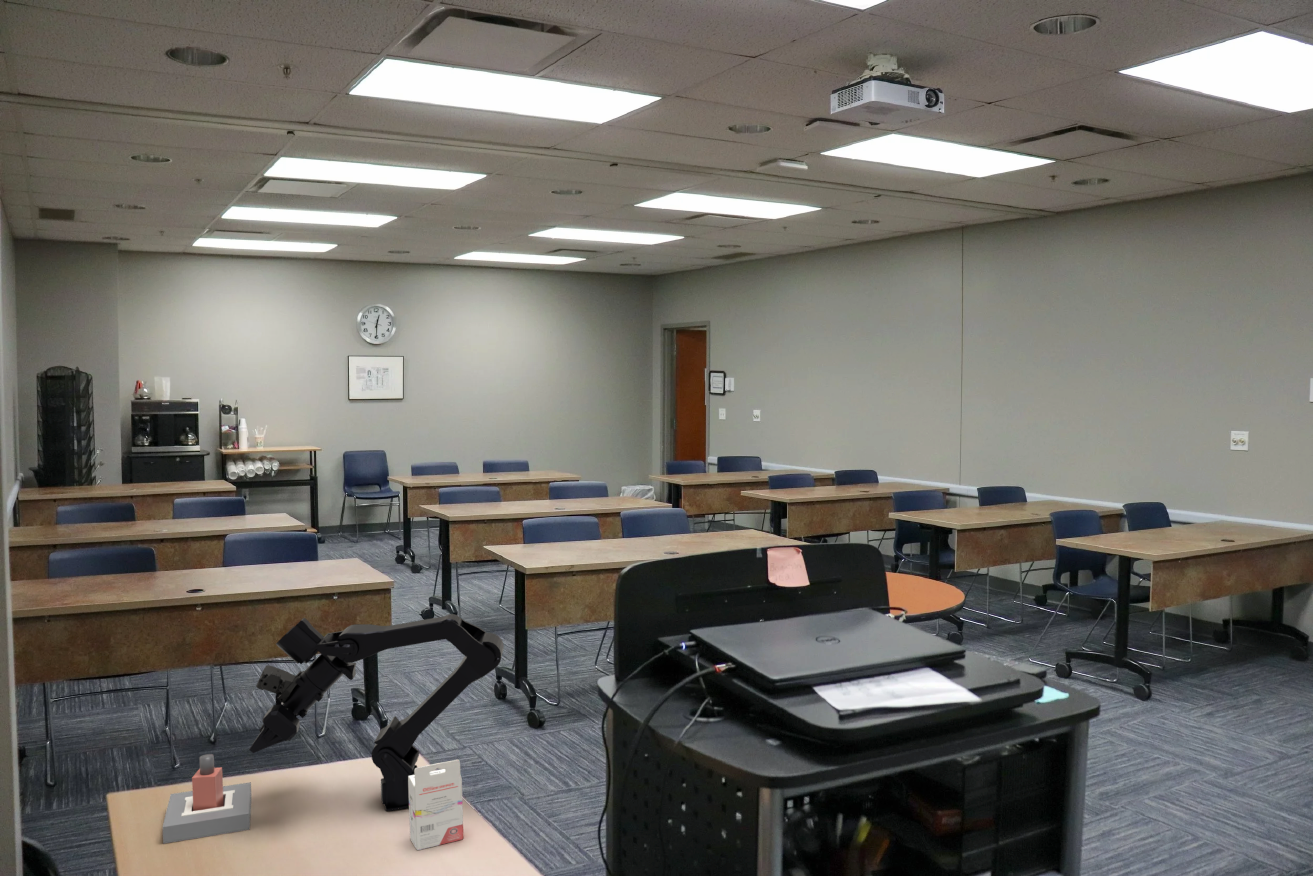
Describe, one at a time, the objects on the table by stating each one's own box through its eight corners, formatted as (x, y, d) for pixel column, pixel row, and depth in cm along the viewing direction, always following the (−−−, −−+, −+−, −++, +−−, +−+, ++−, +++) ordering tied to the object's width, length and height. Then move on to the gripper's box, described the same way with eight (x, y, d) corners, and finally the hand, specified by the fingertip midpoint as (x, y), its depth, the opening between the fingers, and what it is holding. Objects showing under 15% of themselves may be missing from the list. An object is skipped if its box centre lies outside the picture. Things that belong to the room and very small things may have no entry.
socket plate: (251, 797, 189) (250, 781, 188) (249, 829, 176) (248, 812, 175) (171, 809, 184) (170, 793, 183) (163, 843, 171) (162, 826, 170)
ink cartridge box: (456, 828, 176) (454, 749, 175) (464, 840, 172) (462, 759, 170) (408, 839, 172) (406, 758, 171) (415, 851, 168) (413, 769, 167)
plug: (223, 814, 182) (221, 752, 181) (216, 824, 178) (214, 760, 177) (201, 815, 181) (198, 753, 180) (194, 825, 177) (191, 761, 176)
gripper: (292, 638, 190) (233, 697, 189) (274, 667, 172) (210, 733, 171) (335, 675, 193) (277, 733, 191) (322, 708, 174) (259, 772, 173)
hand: (256, 741), depth 182 cm, fingers open, 9 cm apart
